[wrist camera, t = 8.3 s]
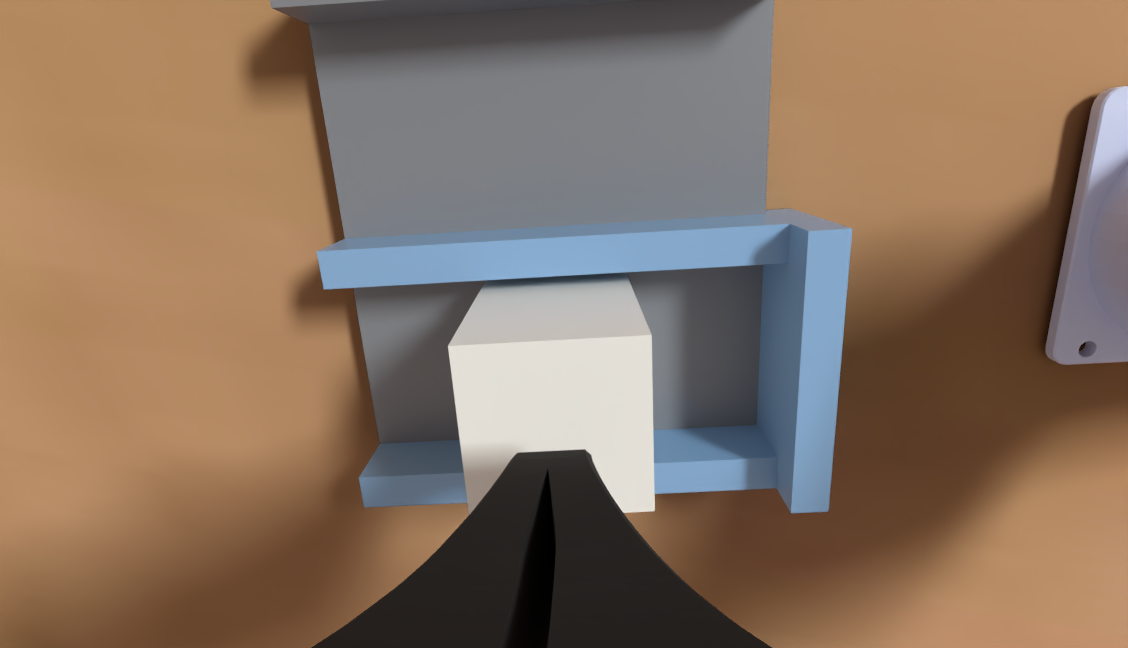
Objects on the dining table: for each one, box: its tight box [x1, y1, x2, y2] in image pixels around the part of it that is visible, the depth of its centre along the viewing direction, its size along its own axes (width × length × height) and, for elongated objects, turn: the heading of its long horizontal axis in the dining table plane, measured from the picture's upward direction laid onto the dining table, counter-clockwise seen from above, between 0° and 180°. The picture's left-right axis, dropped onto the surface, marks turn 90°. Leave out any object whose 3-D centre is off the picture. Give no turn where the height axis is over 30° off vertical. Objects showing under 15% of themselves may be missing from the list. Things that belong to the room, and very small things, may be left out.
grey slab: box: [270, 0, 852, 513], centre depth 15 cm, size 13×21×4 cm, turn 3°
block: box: [448, 272, 655, 515], centre depth 15 cm, size 4×4×6 cm
